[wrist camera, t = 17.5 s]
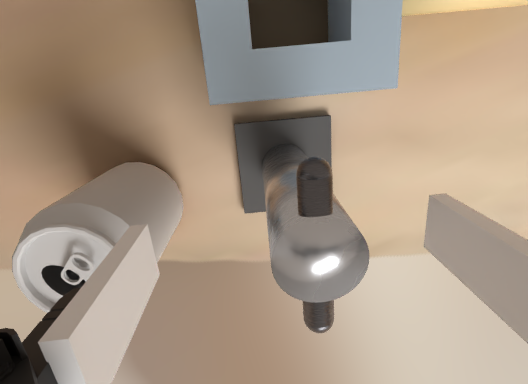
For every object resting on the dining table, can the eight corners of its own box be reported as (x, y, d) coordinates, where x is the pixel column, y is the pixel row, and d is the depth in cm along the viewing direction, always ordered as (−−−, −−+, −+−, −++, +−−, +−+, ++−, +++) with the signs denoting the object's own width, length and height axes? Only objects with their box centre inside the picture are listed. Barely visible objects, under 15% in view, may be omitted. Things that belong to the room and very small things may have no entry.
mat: (244, 210, 28) (244, 213, 28) (234, 123, 26) (234, 124, 25) (330, 203, 28) (331, 205, 28) (329, 115, 26) (330, 115, 25)
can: (85, 202, 28) (-31, 284, 16) (132, 141, 26) (39, 185, 15) (154, 250, 30) (92, 353, 18) (202, 196, 28) (167, 272, 17)
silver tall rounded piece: (266, 212, 28) (278, 345, 14) (257, 119, 25) (262, 167, 11) (309, 208, 28) (366, 337, 14) (306, 115, 25) (372, 157, 11)
